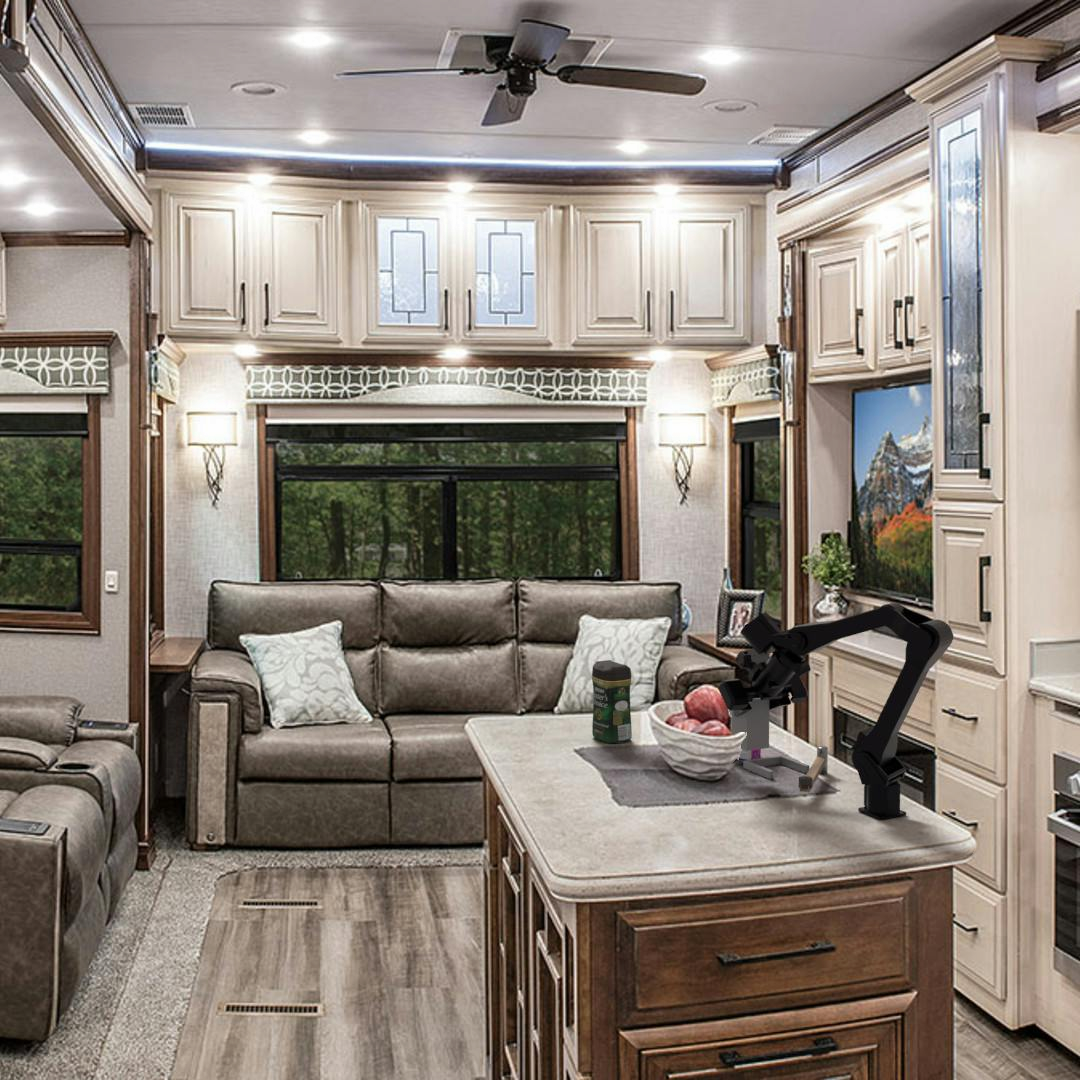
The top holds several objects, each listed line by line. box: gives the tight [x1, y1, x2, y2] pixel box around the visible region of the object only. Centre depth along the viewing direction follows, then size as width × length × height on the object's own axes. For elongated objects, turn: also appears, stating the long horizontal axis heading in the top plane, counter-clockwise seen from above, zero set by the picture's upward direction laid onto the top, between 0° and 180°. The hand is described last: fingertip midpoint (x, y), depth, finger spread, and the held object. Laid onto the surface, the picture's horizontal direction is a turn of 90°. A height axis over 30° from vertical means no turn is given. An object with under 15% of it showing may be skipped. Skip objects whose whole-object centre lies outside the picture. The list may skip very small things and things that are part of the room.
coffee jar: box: [591, 659, 633, 744], centre depth 291 cm, size 10×8×19 cm
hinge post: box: [816, 745, 829, 775], centre depth 261 cm, size 2×2×6 cm
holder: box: [742, 754, 810, 780], centre depth 264 cm, size 10×10×2 cm
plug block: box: [732, 698, 770, 751], centre depth 256 cm, size 6×6×11 cm
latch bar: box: [798, 756, 826, 793], centre depth 249 cm, size 3×22×2 cm, turn 159°
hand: (746, 713), depth 257 cm, fingers closed on plug block, 5 cm apart
